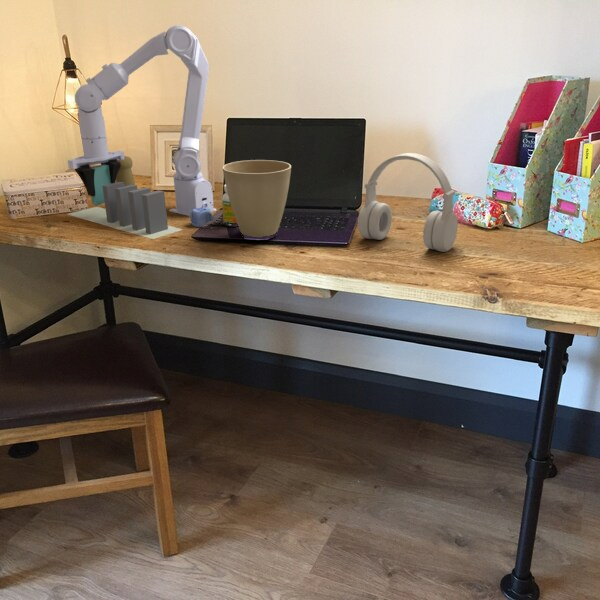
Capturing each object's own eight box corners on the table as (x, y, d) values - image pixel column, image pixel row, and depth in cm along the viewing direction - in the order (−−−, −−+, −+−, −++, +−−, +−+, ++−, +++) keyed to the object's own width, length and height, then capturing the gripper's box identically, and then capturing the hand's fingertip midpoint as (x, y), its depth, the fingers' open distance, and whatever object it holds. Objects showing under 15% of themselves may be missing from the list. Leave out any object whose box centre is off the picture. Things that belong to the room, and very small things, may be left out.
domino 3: (141, 221, 161) (137, 185, 157) (124, 226, 157) (119, 189, 154) (136, 220, 162) (132, 184, 158) (119, 225, 158) (114, 188, 155)
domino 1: (113, 201, 166) (108, 165, 162) (96, 205, 162) (91, 168, 158) (109, 200, 167) (104, 164, 163) (92, 204, 163) (86, 167, 160)
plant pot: (279, 249, 140) (276, 175, 134) (215, 243, 145) (210, 171, 139) (301, 229, 153) (300, 160, 147) (242, 224, 158) (239, 157, 152)
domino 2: (128, 218, 164) (124, 182, 160) (111, 223, 160) (106, 186, 157) (124, 217, 165) (119, 181, 161) (107, 222, 161) (102, 185, 158)
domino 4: (154, 225, 158) (150, 188, 154) (137, 230, 154) (132, 192, 151) (149, 224, 159) (145, 187, 155) (132, 229, 155) (128, 191, 152)
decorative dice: (199, 229, 155) (198, 212, 154) (190, 225, 158) (189, 209, 157) (213, 226, 158) (212, 209, 156) (205, 222, 161) (203, 206, 159)
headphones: (355, 242, 144) (357, 153, 137) (373, 232, 151) (376, 146, 143) (442, 257, 134) (448, 162, 127) (457, 246, 141) (464, 155, 133)
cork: (131, 192, 190) (127, 153, 186) (141, 196, 186) (137, 156, 181) (112, 195, 186) (107, 156, 182) (121, 199, 182) (116, 159, 178)
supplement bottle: (220, 227, 156) (217, 187, 152) (228, 221, 161) (225, 181, 157) (242, 229, 155) (240, 188, 151) (249, 222, 160) (247, 182, 156)
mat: (183, 230, 154) (183, 229, 154) (152, 240, 148) (152, 239, 148) (97, 207, 175) (97, 206, 175) (66, 215, 169) (66, 214, 168)
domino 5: (168, 229, 155) (164, 191, 151) (150, 234, 151) (146, 195, 148) (163, 227, 156) (159, 190, 152) (146, 233, 152) (141, 194, 149)
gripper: (109, 131, 165) (116, 185, 171) (57, 140, 155) (66, 196, 161) (126, 134, 161) (133, 189, 167) (74, 142, 151) (83, 201, 156)
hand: (101, 193), depth 163 cm, fingers closed on domino 1, 5 cm apart
